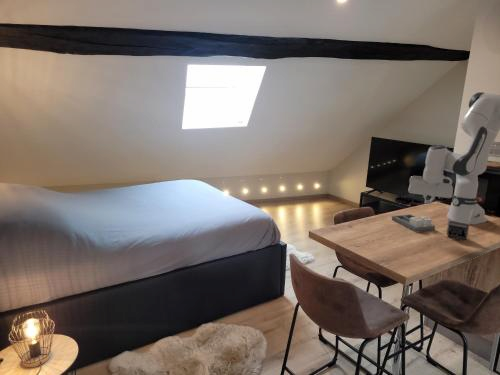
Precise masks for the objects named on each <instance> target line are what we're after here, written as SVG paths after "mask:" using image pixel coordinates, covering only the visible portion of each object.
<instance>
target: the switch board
mask: <svg viewBox="0 0 500 375" xmlns="http://www.w3.org/2000/svg"><path fill="white" fill-rule="evenodd" d="M411 217H417V216H416V215H413V214H411V213H409V214H399V215H398V214H397V215H392V216H391V220H392V221H393V222H395V223H397V224H399V225H400V226H403V227H404V228H406V229H409V230H410V231H413V232H414V233H417V232H426V231H435V228H436V225H435V224H432V223H431V225H428V226H424V225H422V226H417V227H415V226H413V225H411V224H409V222H410V218H411ZM417 218H419V217H417Z"/></svg>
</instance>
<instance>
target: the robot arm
mask: <svg viewBox="0 0 500 375" xmlns="http://www.w3.org/2000/svg"><path fill="white" fill-rule="evenodd" d="M469 99H470V100H469V102H468V110H467V111H466V112H465V114H464V116H463V117H462V119H461V122H460V126H461V129H462V130H463V132H464V133H465V134H467V135H468V136H470V139H469V142H468V143H469V144H468V148H467V149H466V151H463V152H461V153H457V152H454V151H453V152H452V151H450V150H449V149H448V148H447V146H445V145H442V144H441V145H440V144H437V145H436V144H435V145H431V146H430V147H429V148H428V150H427V154H426V156H425V161H424V163H425V167H424V169H423V173H422V176H421V175H413V176H410V177H409V181H408V182H409V186H408V189H407V192H408V193H409V194H413V195H421V196H422V197H423V199H424V204H426V205H432V202H433V201H434V200H435V199H436V197H437V198H445V199H451V204H450V207H449V210H448V212H447V214H446V218H447V219H449V220H455V221H461V222H466V223H469V224H470V225H474V226H475V225H479V224H483V223H487V222H486V221H488V222H490V219H489V218H488V217H486V216H485V215H486V212H485V209H484V208H483V207H482V206H481V205H480V204H479V203H478V202H482V198H481V197H477V194H478V189H479V188H478V187H479V181H478V179H479V177H478V176H479V175H482V174H484V173H485V172H486V171H487V167H488V160H489V156H490V153H491V149H492V146H493V144H494V142H495V140H496V138H497V137H498V136H497V135H498V133H499V132H500V94H493V93H485V92H483V91H482V92H476V93H474V94H473V95H472V96H471V97H470V98H469ZM444 171H446V172H449V173H453V174H455V176H456V178H455V187H453V185H452V184H453V180H452V178H450V177H448V176H446V175H444ZM453 191H454V192H453ZM428 196H429V197H430V199H427V198H428Z"/></svg>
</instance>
